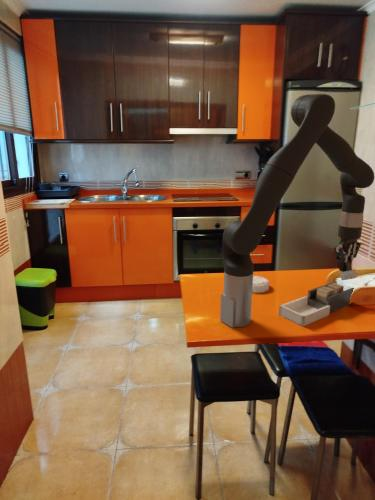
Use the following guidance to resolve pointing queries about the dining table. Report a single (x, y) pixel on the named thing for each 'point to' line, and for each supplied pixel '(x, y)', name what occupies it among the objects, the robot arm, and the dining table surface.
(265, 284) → the mooncake
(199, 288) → the dining table surface
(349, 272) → the scraper tool
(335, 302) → the slot block
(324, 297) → the chip
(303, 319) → the tray
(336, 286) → the chip
